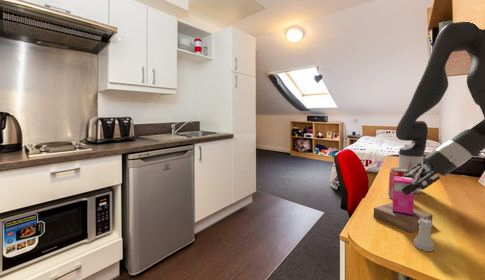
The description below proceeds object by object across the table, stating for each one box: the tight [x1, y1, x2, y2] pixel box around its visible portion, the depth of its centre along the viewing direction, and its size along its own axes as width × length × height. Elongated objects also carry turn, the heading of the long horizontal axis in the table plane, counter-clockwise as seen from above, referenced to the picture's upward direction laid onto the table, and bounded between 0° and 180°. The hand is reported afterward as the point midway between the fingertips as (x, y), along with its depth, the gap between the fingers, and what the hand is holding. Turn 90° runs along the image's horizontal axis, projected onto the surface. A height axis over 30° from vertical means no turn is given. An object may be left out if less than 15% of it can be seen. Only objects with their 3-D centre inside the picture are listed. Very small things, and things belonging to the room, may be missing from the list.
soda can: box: [388, 167, 408, 200], centre depth 96 cm, size 7×7×13 cm
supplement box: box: [392, 176, 415, 216], centre depth 75 cm, size 6×6×12 cm
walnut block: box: [373, 202, 433, 234], centre depth 76 cm, size 12×12×4 cm
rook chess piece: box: [413, 218, 435, 253], centre depth 61 cm, size 4×4×8 cm
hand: (400, 188), depth 76 cm, fingers open, 8 cm apart
